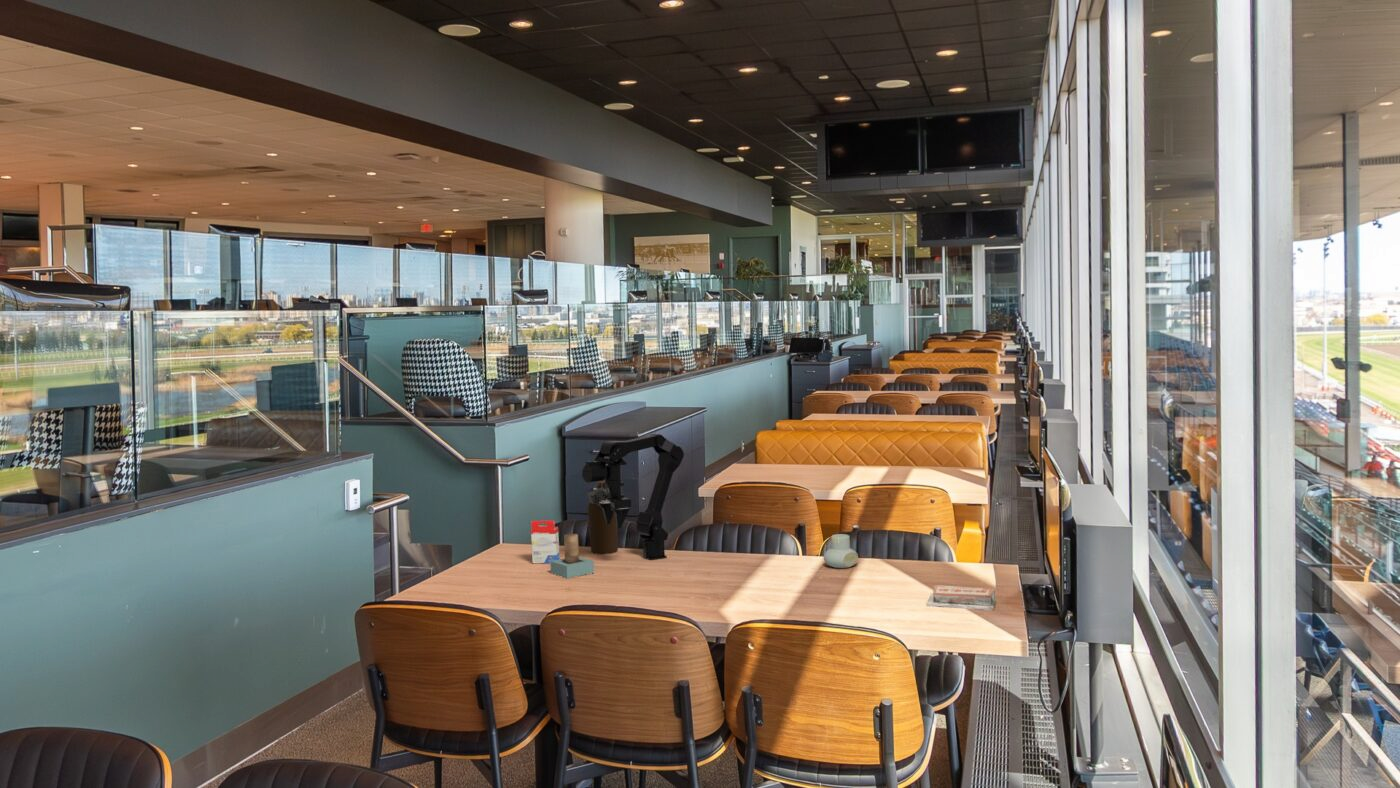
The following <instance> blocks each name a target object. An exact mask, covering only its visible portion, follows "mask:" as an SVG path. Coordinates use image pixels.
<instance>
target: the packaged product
mask: <svg viewBox="0 0 1400 788" xmlns="http://www.w3.org/2000/svg"><path fill="white" fill-rule="evenodd" d="M995 594H996V590H995V589H994V588H988V587H987V588H986V587H985V588H984V587H975V586H974V587H973V586H972V587H971V586H953V585H943V584H942V585H939V584H938V585H937V584H936V585H934V586H933V591H932V592H931V593H930V595H929V597H928V600H927V602H926V603H925V604H926V607H932V608H935V607H936V608H937V607H938V608H949V609H965V610H984V611H994V609H995V606H996V603H997V597H996V595H995Z"/></svg>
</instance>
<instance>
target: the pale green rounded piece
mask: <svg viewBox="0 0 1400 788" xmlns="http://www.w3.org/2000/svg"><path fill="white" fill-rule="evenodd" d="M830 537H831V538H830V543H831V544H830V545H831V547H830V548H828V549H827V550H826V551H825V552H824V554H823V560H824V562H825V564H827V565H828V566H829V567H831V568H836V569H849V568H851V567H853V566H855V565H856V564H857V562H858V560H859V555H858V552H856V551H855V550H854V549H853V548H852V547H851V540H850V535H848V534H845V533H837V534H832V535H831V536H830Z"/></svg>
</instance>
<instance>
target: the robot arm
mask: <svg viewBox="0 0 1400 788" xmlns="http://www.w3.org/2000/svg"><path fill="white" fill-rule="evenodd" d="M649 448H650V449H651V448H653V450H654V452H655V453H656V454H657V455H658V459H657V462H658V467H659V469H658V472H657V476H656V479H655V482H654V486H653V489H652V493H651V496H650V498H649V502H648V504H647V505H648V506H647V508H646V509H645V510H644V511H640V512H639V513H638V517H637V520H636V521H635V524H636V530H637V533H638V534H639V536H640V539H641V540H643V544H642V557H643V558H645V559H647V560H650V561H651V560H657V559H665V558H667V555H666V553H665V552H666V551H665V541H667V540H668V538H669V537H668V536H669V533H668V532H667V531H666V530H665V529H664V528H663V521H664V520H663V515H662V511H663V507H664V505H665V502H666V498H667V496H668V492H669V488H670V484H671V481H672V478H673V475H674V472H676V470H677V469H679V467H680V466H681V463H682V461H683V459H684V455H685V454H684V451H683V448H682V447H680V446H678V445H676V444H675V443H673V442H672V441H670V440H669V439H667V438H666V437H665V436H663V435H662V434H659V433H658V434H657V433H651V434H650V435H645V436H641V437H637V438H632V439H628V440H605V441H603V442H602V444H601V446H600V450H599V451H598V453H597V455H596V457H595V458H594V461H591V460H590V461H589V460H587V461H585V465H584V466H583V469H582V471H581V475H582V479H583V480H584V482H585V483H594V482H595V483H596V482H598V481H603V480H604V482H602V484H601V488H596V489H594V490H592V491H590V492H588V493H587V498H588V500H589V502H590V503H593V504H598V505H599V506H600V507H601V508H602V509H603V512H604V516H605V519H606V522H607V524H611V521H612V517H613V513H615V517H616V524H617V528H618V530H620V529H621V528H622V526H623V524H624V522H625V520H626V518H627V515H628V513H629V511H630V510H631V508H633V501H632V499H630V498H628V497H625V495H624V494H623V491H622V487H623V486H625V484H624V483H625V482H623V481H622V466H626V465H627V464H628V463H627V462H626V461H625V460H624V459H623V458H624V457H627V456H628V455H629V454H631V453H633V452H637V451H641V450H642V451H643V450H647V449H649Z"/></svg>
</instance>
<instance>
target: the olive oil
mask: <svg viewBox="0 0 1400 788" xmlns="http://www.w3.org/2000/svg"><path fill="white" fill-rule="evenodd" d="M602 482H604V480H603V481H597V486H596V487H597V488H596V489H598V488H601V484H602ZM587 515H588V516H587V517H588V526H589V538H590V552H591V553H592V552H593V553H592V554H595V553H598V554H597V555H607V553H609V554H613V552H614V553H616V551H617V550H619V542H618V541H619V540H618V539H619V537H618V536H619V533H618V532H619V529H618V528H617V524H616V517H615V513H613V517H612V521H611V524H607V522H606V519H605V516H604V512H603V509H602V508H601V507H600V506H599V505H598V504H593V503H590V501H589V502H588V506H587ZM617 552H618V551H617Z"/></svg>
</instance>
